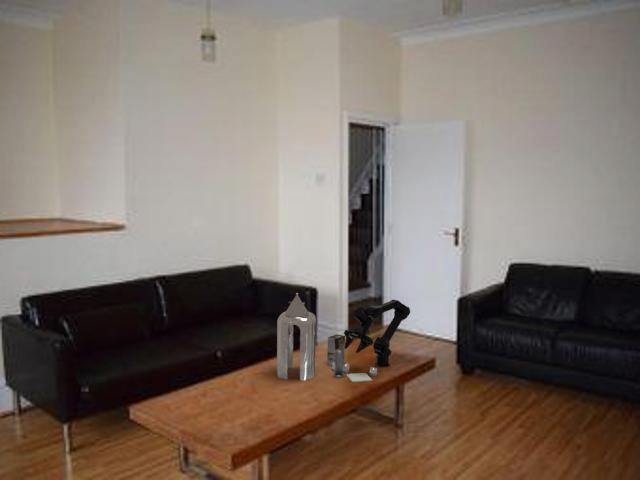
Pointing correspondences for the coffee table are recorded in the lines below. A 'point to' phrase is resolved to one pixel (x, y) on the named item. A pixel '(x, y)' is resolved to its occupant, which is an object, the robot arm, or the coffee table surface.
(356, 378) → the pad
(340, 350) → the standoff
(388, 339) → the robot arm
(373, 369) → the cylinder
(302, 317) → the grey metal tall arch
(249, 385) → the coffee table surface
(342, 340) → the coffee box
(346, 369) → the cylinder
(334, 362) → the cylinder
